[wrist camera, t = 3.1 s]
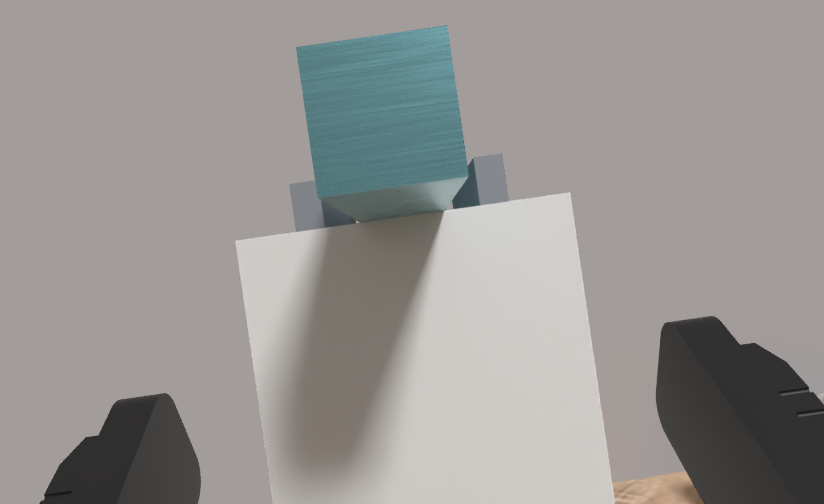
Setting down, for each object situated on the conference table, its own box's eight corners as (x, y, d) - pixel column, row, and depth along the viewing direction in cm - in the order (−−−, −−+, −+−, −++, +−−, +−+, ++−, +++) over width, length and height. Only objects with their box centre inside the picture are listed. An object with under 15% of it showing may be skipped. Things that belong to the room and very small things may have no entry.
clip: (501, 171, 15) (469, -44, 15) (285, 202, 15) (254, -13, 15) (444, 224, 43) (433, 149, 43) (369, 235, 43) (358, 160, 43)
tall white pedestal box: (681, 960, 27) (563, 144, 27) (345, 1007, 27) (228, 193, 27) (581, 695, 43) (507, 185, 43) (370, 725, 43) (297, 215, 43)
